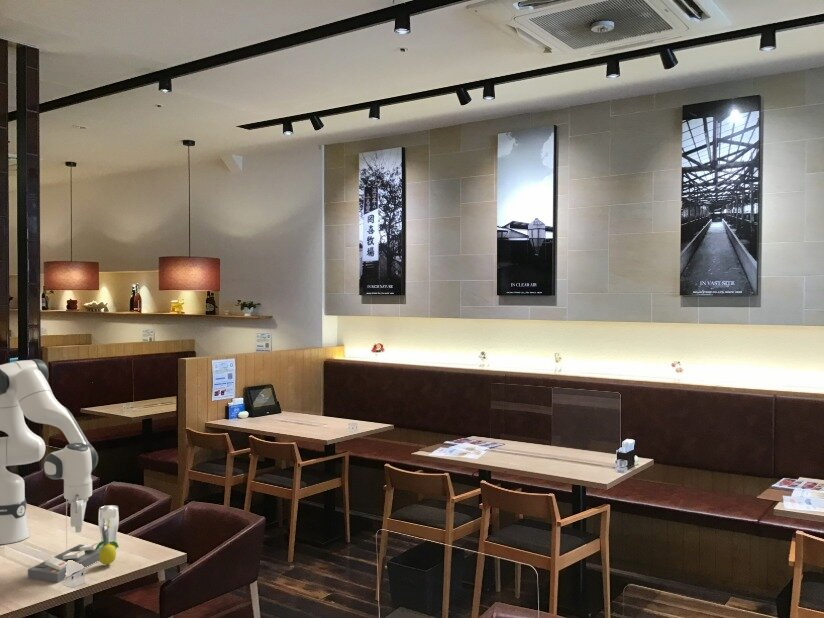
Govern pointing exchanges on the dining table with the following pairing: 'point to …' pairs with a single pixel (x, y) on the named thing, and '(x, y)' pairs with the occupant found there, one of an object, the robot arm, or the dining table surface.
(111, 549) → the lemon
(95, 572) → the dining table surface
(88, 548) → the rocker
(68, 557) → the rocker
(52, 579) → the power strip
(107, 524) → the beer glass
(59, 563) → the rocker
